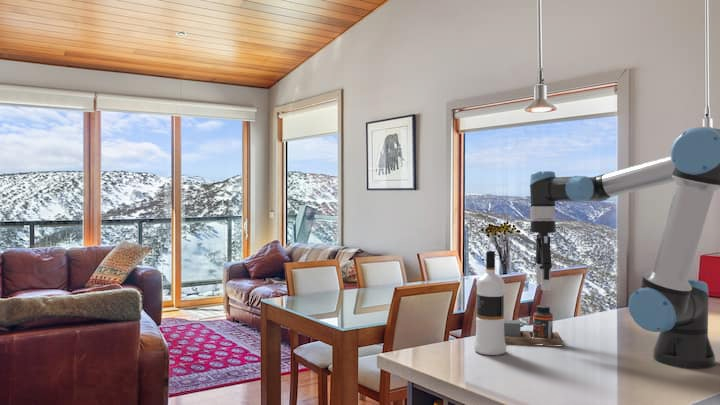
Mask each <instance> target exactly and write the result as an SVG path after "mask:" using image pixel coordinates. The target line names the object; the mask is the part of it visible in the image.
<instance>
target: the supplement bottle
mask: <svg viewBox="0 0 720 405" xmlns="http://www.w3.org/2000/svg"><path fill="white" fill-rule="evenodd" d="M550 308H551V307H550V306H549V305H546V304H545V305H544V304H538V305H536V309H535V310H536V311H535V312H533V315H532V316H533V317H532V318H533V319H532V321H533V322H532V331H533V338H552V332H553V328H554V327H553V325H554V322H553V320H554V318H553V313H551V312H550V310H551V309H550Z"/></svg>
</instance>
